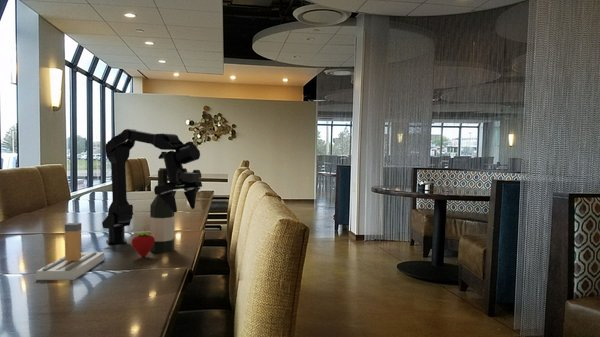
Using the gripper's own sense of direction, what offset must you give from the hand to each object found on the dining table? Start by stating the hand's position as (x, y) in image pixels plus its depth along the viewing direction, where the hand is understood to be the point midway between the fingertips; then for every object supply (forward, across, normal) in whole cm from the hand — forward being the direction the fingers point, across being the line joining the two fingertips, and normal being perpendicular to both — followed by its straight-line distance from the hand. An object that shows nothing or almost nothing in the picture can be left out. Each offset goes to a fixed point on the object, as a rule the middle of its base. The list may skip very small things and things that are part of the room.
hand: (184, 210), depth 139 cm
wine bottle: (+12, 0, +14) cm, 19 cm away
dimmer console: (+10, -30, +21) cm, 38 cm away
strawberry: (+12, -10, +13) cm, 21 cm away
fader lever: (+7, -30, +20) cm, 37 cm away
